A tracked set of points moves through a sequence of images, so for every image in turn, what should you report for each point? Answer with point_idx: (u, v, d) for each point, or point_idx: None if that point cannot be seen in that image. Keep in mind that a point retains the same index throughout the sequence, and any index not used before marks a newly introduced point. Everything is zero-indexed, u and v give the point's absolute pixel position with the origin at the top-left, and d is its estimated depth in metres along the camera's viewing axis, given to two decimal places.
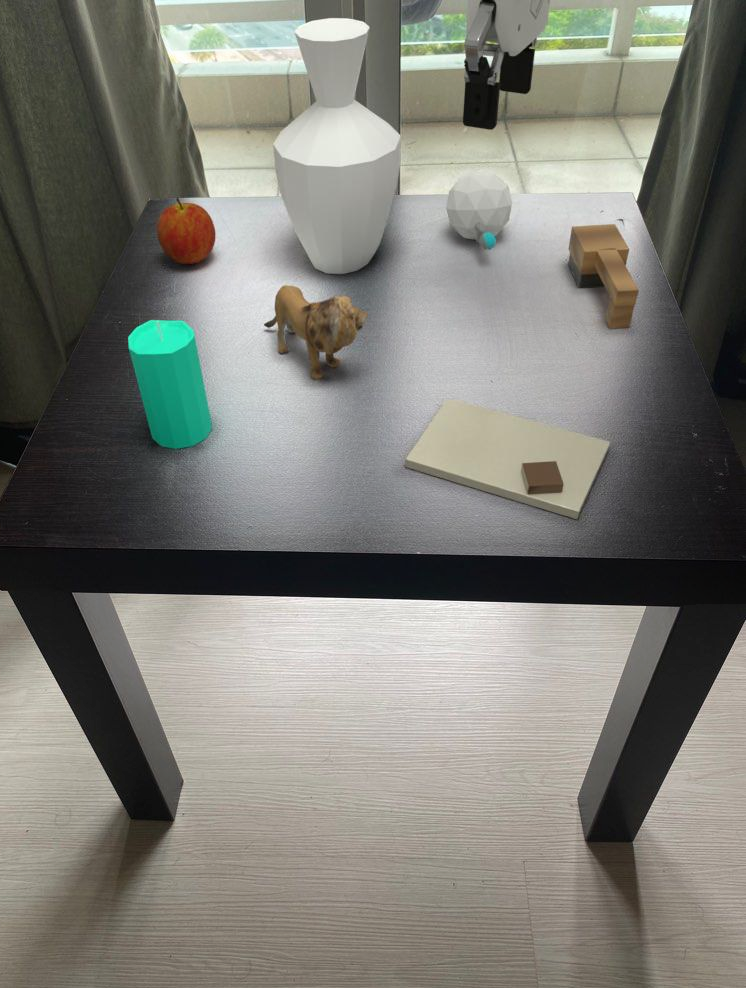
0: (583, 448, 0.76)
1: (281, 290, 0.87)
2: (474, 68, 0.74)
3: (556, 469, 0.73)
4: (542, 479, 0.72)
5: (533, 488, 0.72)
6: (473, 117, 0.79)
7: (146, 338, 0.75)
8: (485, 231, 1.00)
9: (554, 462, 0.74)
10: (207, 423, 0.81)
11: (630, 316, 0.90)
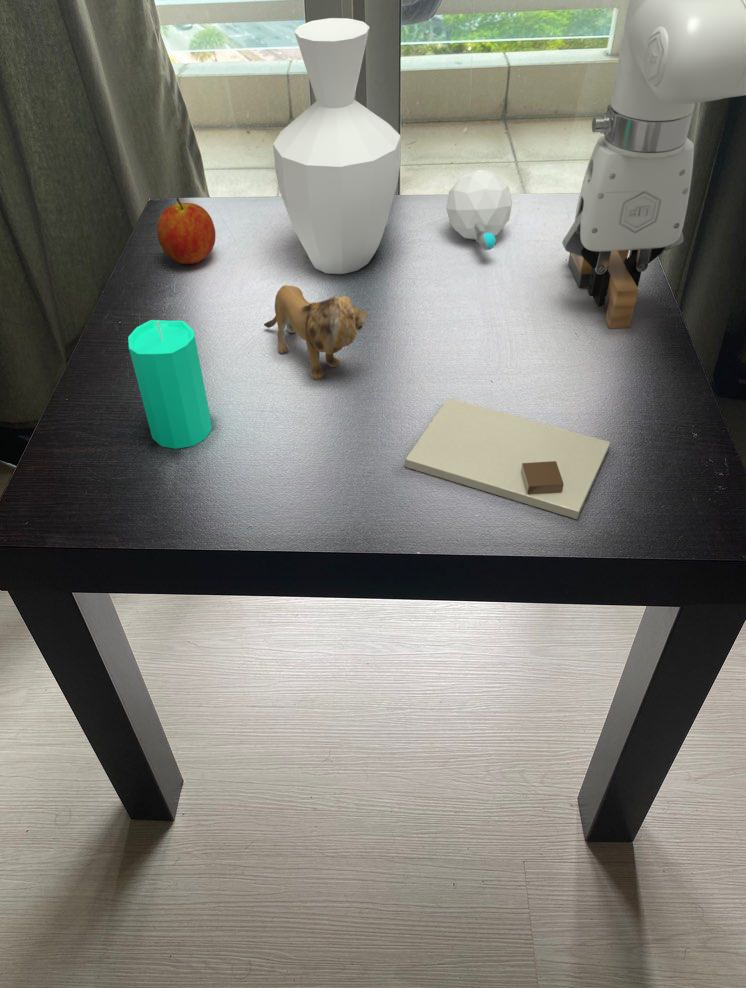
0: (583, 448, 0.76)
1: (281, 290, 0.87)
2: None
3: (556, 469, 0.73)
4: (542, 479, 0.72)
5: (533, 488, 0.72)
6: (589, 290, 0.93)
7: (146, 338, 0.75)
8: (485, 231, 1.00)
9: (554, 462, 0.74)
10: (207, 423, 0.81)
11: (630, 316, 0.90)
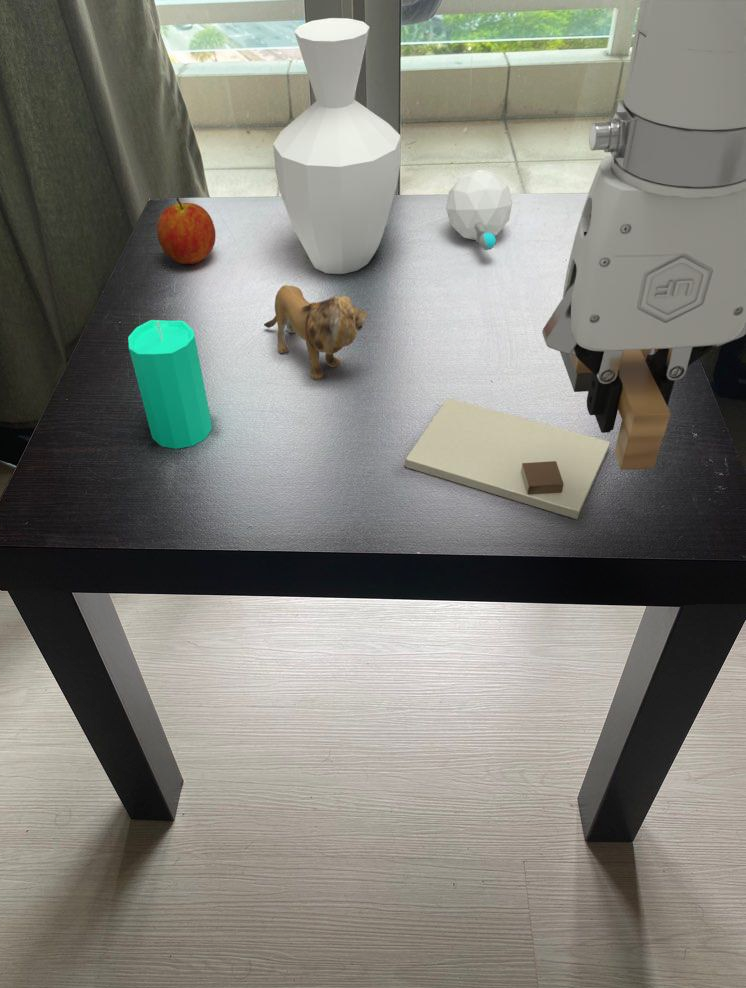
0: (583, 448, 0.76)
1: (281, 290, 0.87)
2: None
3: (556, 469, 0.73)
4: (542, 479, 0.72)
5: (533, 488, 0.72)
6: (588, 404, 0.57)
7: (146, 338, 0.75)
8: (485, 231, 1.00)
9: (554, 462, 0.74)
10: (207, 423, 0.81)
11: (655, 452, 0.54)
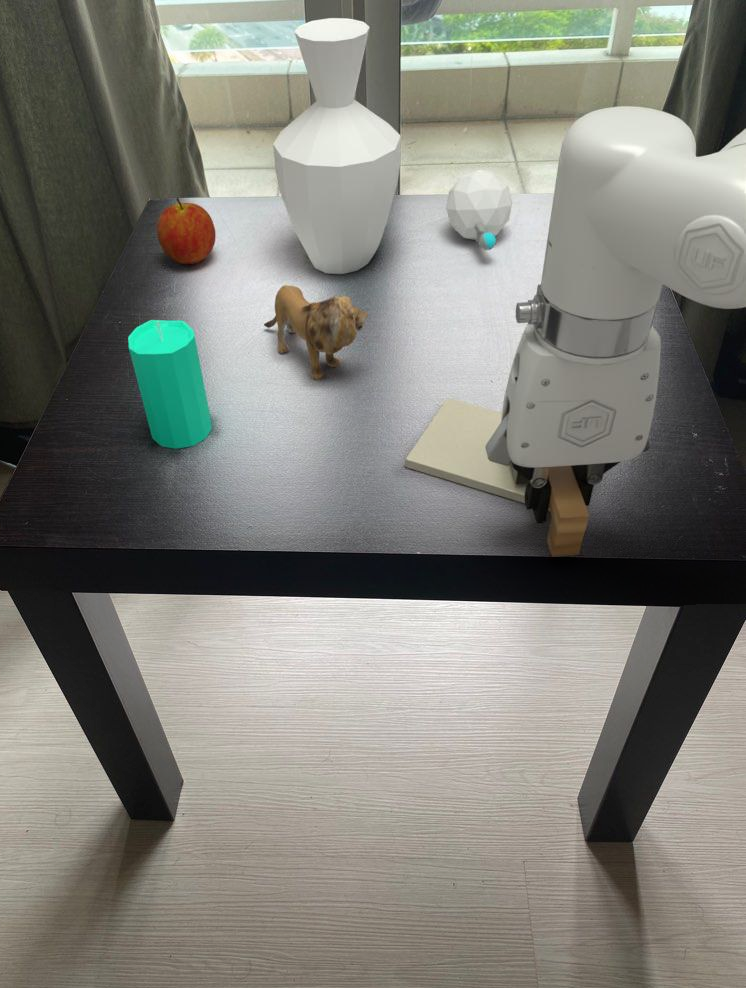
0: None
1: (281, 290, 0.87)
2: None
3: None
4: None
5: None
6: (525, 500, 0.69)
7: (146, 338, 0.75)
8: (485, 231, 1.00)
9: None
10: (207, 423, 0.81)
11: (579, 543, 0.66)
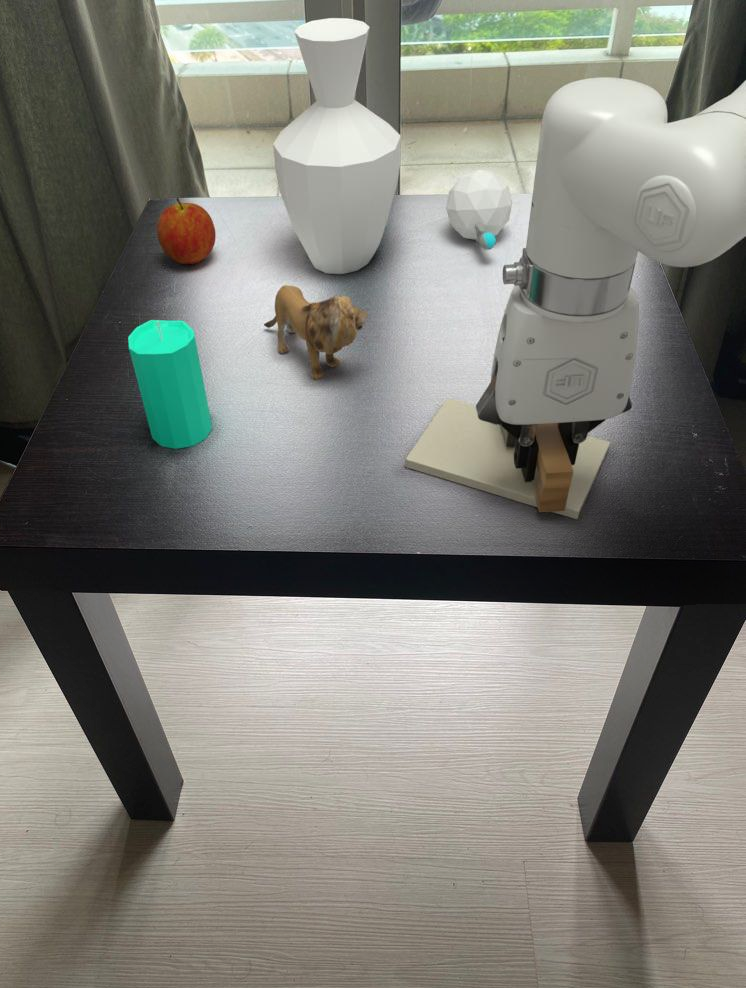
0: (583, 448, 0.76)
1: (281, 290, 0.87)
2: None
3: None
4: None
5: None
6: (514, 459, 0.73)
7: (146, 338, 0.75)
8: (485, 231, 1.00)
9: None
10: (207, 423, 0.81)
11: (565, 499, 0.70)
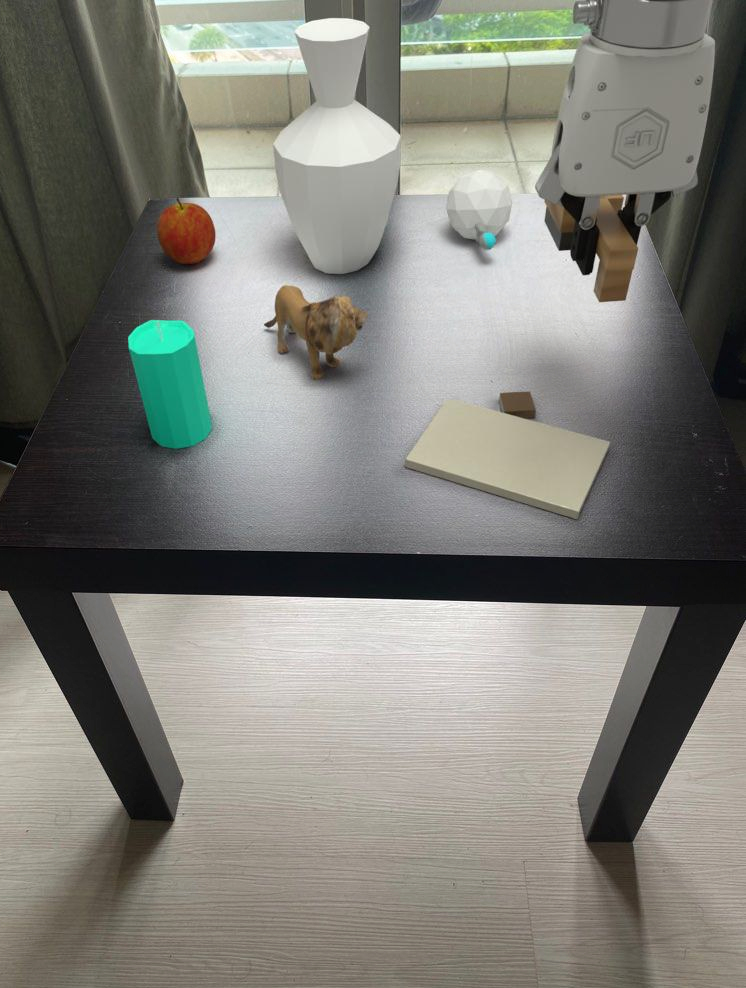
0: (583, 448, 0.76)
1: (281, 290, 0.87)
2: None
3: (530, 398, 0.82)
4: (516, 405, 0.81)
5: (508, 413, 0.81)
6: (571, 253, 0.70)
7: (146, 338, 0.75)
8: (485, 231, 1.00)
9: (528, 392, 0.82)
10: (207, 423, 0.81)
11: (627, 285, 0.67)
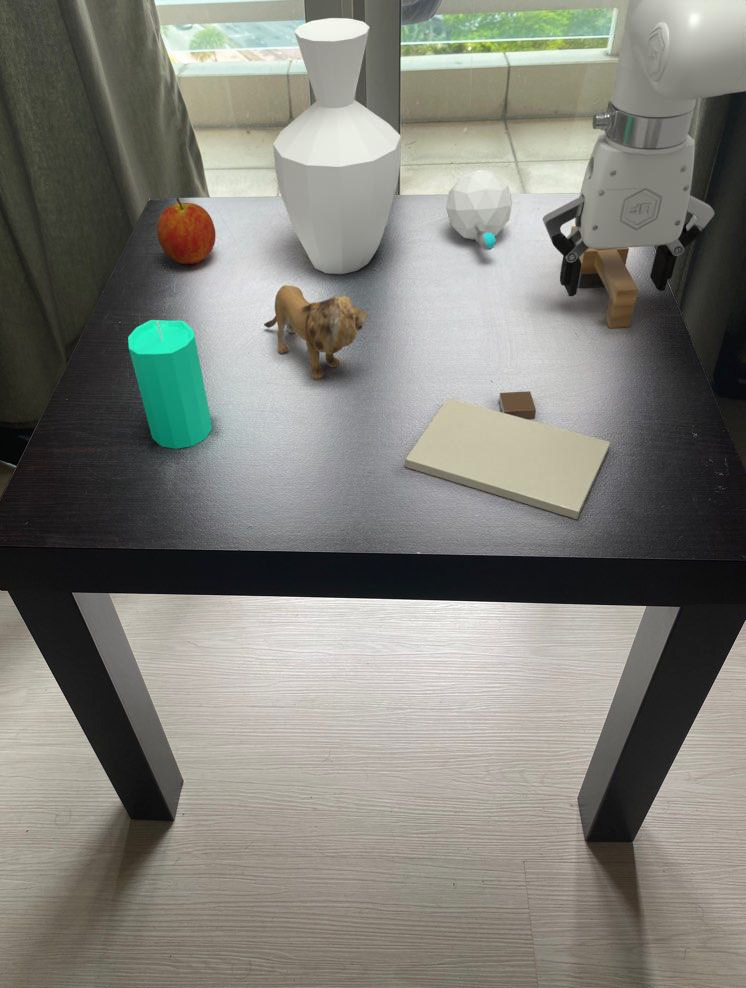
0: (583, 448, 0.76)
1: (281, 290, 0.87)
2: None
3: (530, 398, 0.82)
4: (516, 405, 0.81)
5: (508, 413, 0.81)
6: (560, 279, 0.92)
7: (146, 338, 0.75)
8: (485, 231, 1.00)
9: (528, 392, 0.82)
10: (207, 423, 0.81)
11: (630, 316, 0.90)
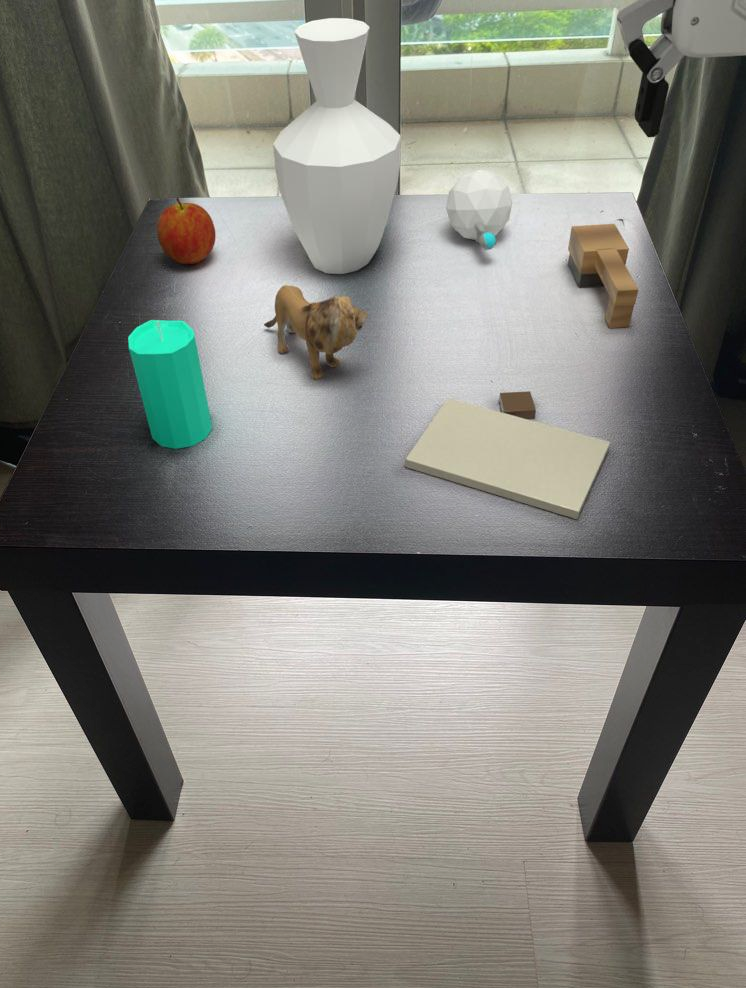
0: (583, 448, 0.76)
1: (281, 290, 0.87)
2: (627, 51, 0.63)
3: (530, 398, 0.82)
4: (516, 405, 0.81)
5: (508, 413, 0.81)
6: (636, 115, 0.67)
7: (146, 338, 0.75)
8: (485, 231, 1.00)
9: (528, 392, 0.82)
10: (207, 423, 0.81)
11: (630, 316, 0.90)
